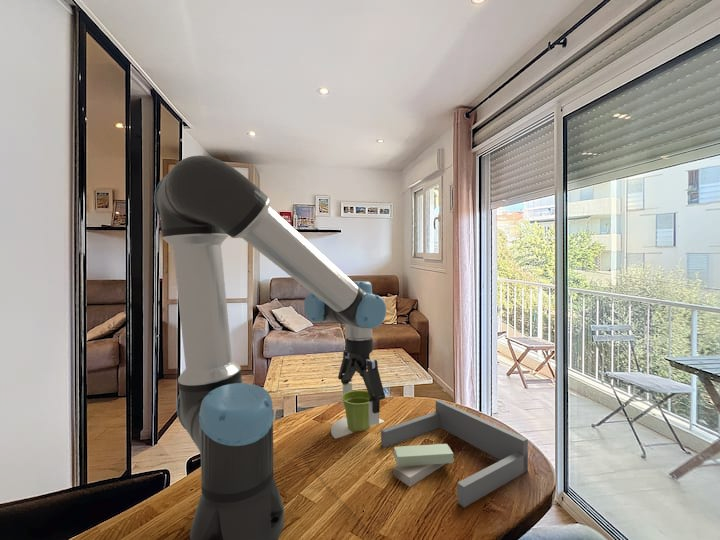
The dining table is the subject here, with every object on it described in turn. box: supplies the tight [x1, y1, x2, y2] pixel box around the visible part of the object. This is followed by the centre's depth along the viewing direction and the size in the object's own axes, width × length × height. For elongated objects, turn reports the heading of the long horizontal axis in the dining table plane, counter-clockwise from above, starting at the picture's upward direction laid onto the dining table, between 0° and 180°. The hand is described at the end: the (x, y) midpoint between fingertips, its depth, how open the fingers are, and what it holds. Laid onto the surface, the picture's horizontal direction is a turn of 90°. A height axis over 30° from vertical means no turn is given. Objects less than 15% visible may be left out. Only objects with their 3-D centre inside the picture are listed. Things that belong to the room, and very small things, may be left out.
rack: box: [380, 399, 529, 508], centre depth 77 cm, size 20×26×8 cm
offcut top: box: [393, 443, 454, 466], centre depth 73 cm, size 4×12×2 cm, turn 94°
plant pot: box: [341, 389, 374, 433], centre depth 92 cm, size 9×9×9 cm
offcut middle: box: [393, 463, 447, 487], centre depth 73 cm, size 4×14×2 cm, turn 130°
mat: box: [330, 416, 385, 440], centre depth 92 cm, size 16×16×1 cm
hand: (360, 414), depth 92 cm, fingers open, 13 cm apart
